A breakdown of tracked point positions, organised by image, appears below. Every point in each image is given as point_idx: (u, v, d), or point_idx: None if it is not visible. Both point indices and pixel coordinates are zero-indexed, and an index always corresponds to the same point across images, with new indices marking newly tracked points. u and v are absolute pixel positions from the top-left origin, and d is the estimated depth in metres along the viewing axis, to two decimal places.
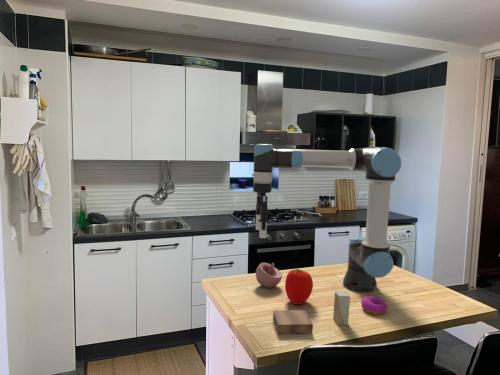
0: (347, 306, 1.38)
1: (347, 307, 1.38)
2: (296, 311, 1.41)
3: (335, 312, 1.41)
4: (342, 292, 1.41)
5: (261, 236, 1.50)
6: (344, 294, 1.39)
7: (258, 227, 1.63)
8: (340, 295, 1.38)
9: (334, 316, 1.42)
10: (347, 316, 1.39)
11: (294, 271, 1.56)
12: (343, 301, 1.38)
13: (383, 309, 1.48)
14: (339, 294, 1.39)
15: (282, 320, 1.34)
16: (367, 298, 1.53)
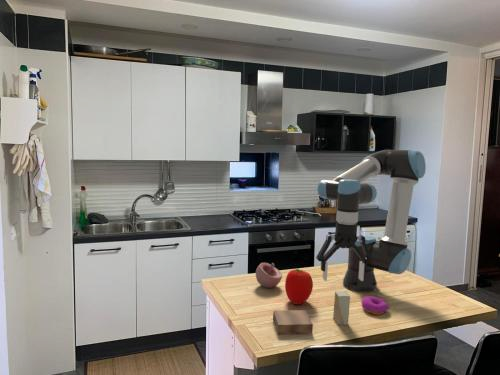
0: (347, 306, 1.38)
1: (347, 307, 1.38)
2: (296, 311, 1.41)
3: (335, 312, 1.41)
4: (342, 292, 1.41)
5: (323, 277, 1.39)
6: (344, 294, 1.39)
7: (359, 276, 1.40)
8: (340, 295, 1.38)
9: (334, 316, 1.42)
10: (347, 316, 1.39)
11: (294, 271, 1.56)
12: (343, 301, 1.38)
13: (383, 309, 1.48)
14: (339, 294, 1.39)
15: (282, 320, 1.34)
16: (367, 298, 1.53)
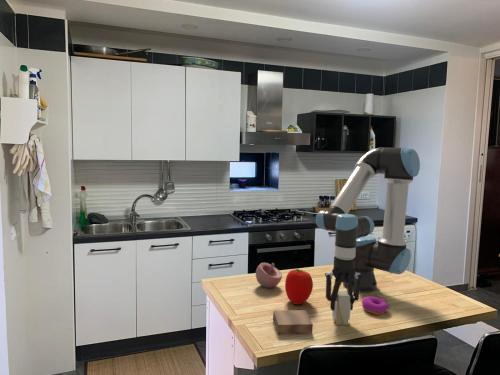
0: (347, 306, 1.38)
1: (347, 307, 1.38)
2: (296, 311, 1.41)
3: None
4: (342, 292, 1.41)
5: (332, 316, 1.42)
6: (344, 294, 1.39)
7: None
8: (340, 295, 1.38)
9: None
10: (347, 316, 1.39)
11: (294, 271, 1.56)
12: (343, 301, 1.38)
13: (384, 309, 1.48)
14: (339, 294, 1.39)
15: (282, 320, 1.34)
16: (368, 298, 1.53)
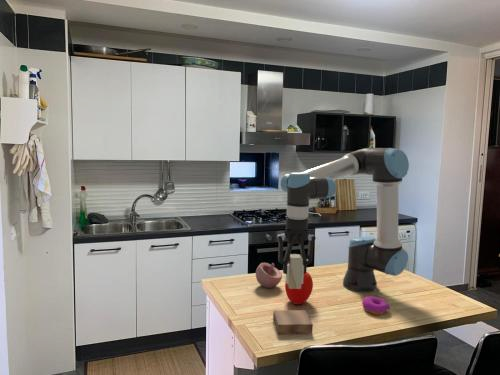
0: (300, 269, 1.32)
1: (300, 270, 1.32)
2: (296, 311, 1.41)
3: None
4: (295, 255, 1.34)
5: (285, 280, 1.35)
6: (297, 256, 1.33)
7: None
8: (292, 257, 1.32)
9: None
10: (300, 279, 1.32)
11: None
12: (295, 263, 1.31)
13: (384, 309, 1.48)
14: (292, 256, 1.33)
15: (282, 320, 1.34)
16: (368, 298, 1.53)
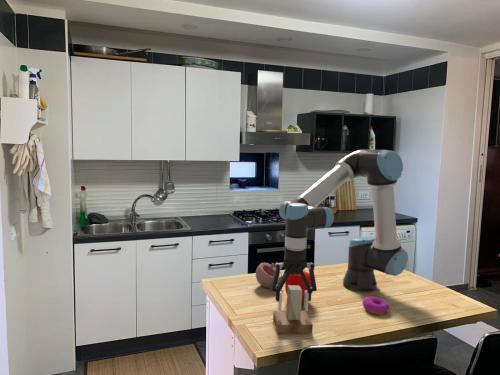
0: (299, 301, 1.33)
1: (299, 302, 1.33)
2: None
3: (287, 307, 1.36)
4: (295, 286, 1.36)
5: (278, 307, 1.36)
6: (296, 288, 1.34)
7: (304, 306, 1.37)
8: (292, 289, 1.33)
9: (286, 311, 1.37)
10: (299, 311, 1.34)
11: None
12: (295, 295, 1.33)
13: (385, 309, 1.48)
14: (291, 288, 1.34)
15: (282, 320, 1.34)
16: (369, 298, 1.53)
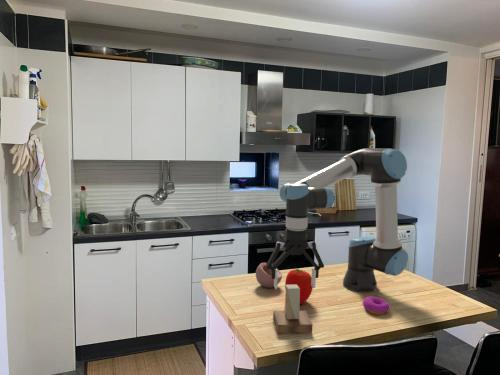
0: (297, 299, 1.34)
1: (297, 300, 1.34)
2: None
3: (286, 306, 1.36)
4: (292, 285, 1.37)
5: (274, 285, 1.35)
6: (294, 287, 1.35)
7: (312, 283, 1.36)
8: (290, 288, 1.34)
9: (285, 311, 1.37)
10: (298, 310, 1.34)
11: (294, 271, 1.56)
12: (293, 294, 1.33)
13: (385, 309, 1.48)
14: (289, 287, 1.35)
15: (282, 320, 1.34)
16: (369, 298, 1.53)
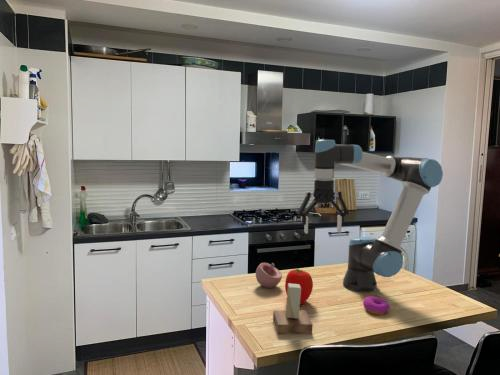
0: (298, 298, 1.34)
1: (298, 299, 1.34)
2: None
3: (286, 305, 1.37)
4: (295, 284, 1.37)
5: (304, 230, 1.52)
6: (296, 286, 1.35)
7: (338, 229, 1.53)
8: (291, 286, 1.35)
9: (286, 309, 1.38)
10: (297, 309, 1.34)
11: (294, 271, 1.56)
12: (294, 293, 1.34)
13: (385, 309, 1.48)
14: (290, 285, 1.36)
15: (282, 320, 1.34)
16: (369, 298, 1.53)
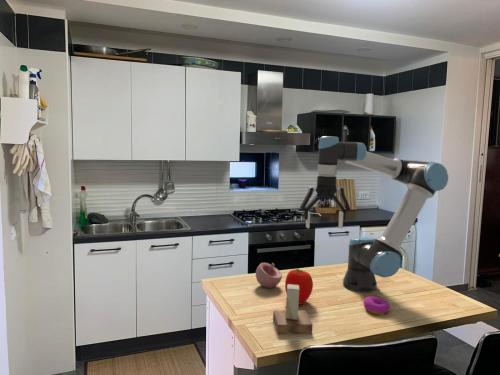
0: (296, 300, 1.34)
1: (296, 301, 1.34)
2: None
3: None
4: (294, 285, 1.37)
5: (306, 225, 1.54)
6: (294, 287, 1.35)
7: (339, 225, 1.55)
8: (289, 287, 1.34)
9: None
10: (296, 310, 1.34)
11: (294, 271, 1.56)
12: (291, 294, 1.34)
13: (385, 309, 1.48)
14: (289, 287, 1.35)
15: (282, 320, 1.34)
16: (369, 298, 1.53)
